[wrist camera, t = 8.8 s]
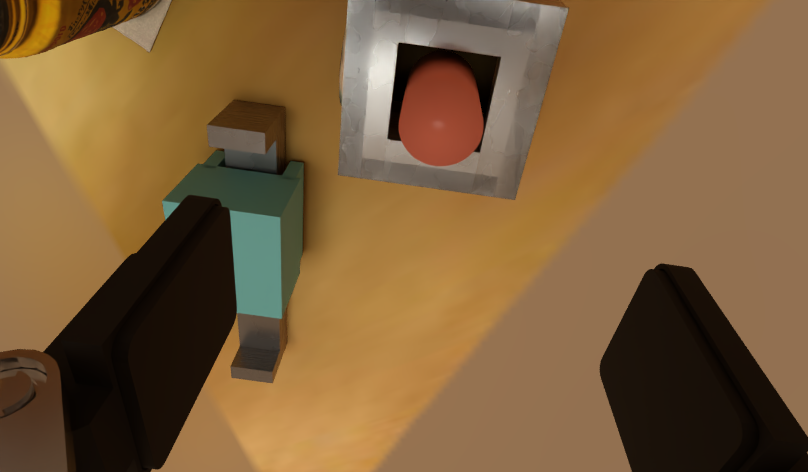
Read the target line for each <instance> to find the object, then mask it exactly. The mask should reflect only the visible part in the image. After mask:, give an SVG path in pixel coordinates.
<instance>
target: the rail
mask: <svg viewBox="0 0 808 472" xmlns="http://www.w3.org/2000/svg"><path fill="white" fill-rule="evenodd" d="M207 131H208V142H209V147H216V148H223V149H224V152H225V165H226V168H232V169H239V170H247V171H254V172H261V173H268V174H275V175H283V173H284V171H285V170H286V144H285V107H280V106H273V105H266V104H259V103H252V102H245V101H238V100H233V101H232V102H231V103H230V104H229V105H228V106H227V107H226V108H225V109H224V110H223V111H221V112H220V113H219V114H218V115H217V116H216V117H215V118H214V119H213V120H212V121H211V122H210V123H208V124H207ZM237 314H238V327H239V339H240V347H239V349H238V351H237V354H236V356H235V358H234V360H233V362H232V364H231V376H232V378H238V379H245V380H252V381H260V382H267V383H273V381H274V378H275V375H276V373H277V370H278V367H279V364H280V361H281V359H282V356H283V353H284V350H285V348H286V345H287V307H286V310H285V312H284V315H283V317H282V319H278V318H271V317H264V316H257V315H249V314H242V313H237Z"/></svg>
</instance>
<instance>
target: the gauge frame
mask: <svg viewBox="0 0 808 472" xmlns="http://www.w3.org/2000/svg"><path fill="white" fill-rule="evenodd" d="M568 10H569V8H568V7H567V6H565V5H564V4H563V3H562V2H560V1H559V0H348V8H347V25H346V29H345V34H344V39H343V46H342V53H341V63H340V79H339V94H340V103H341V106H342V114H341V132H340V149H339V167H338V175H342V176H350V177H357V178H364V179H371V180H378V181H385V182H392V183H399V184H406V185H413V186H420V187H427V188H434V189H441V190H448V191H455V192H462V193H470V194H477V195H484V196H491V197H498V198H505V199H512V200H515V198H516V194H517V190H518V187H519V183H520V180H521V176H522V173H523V169H524V166H525V162H526V159H527V155H528V151H529V148H530V144H531V141H532V137H533V134H534V130H535V127H536V123H537V120H538V116H539V112H540V109H541V105H542V102H543V98H544V95H545V91H546V88H547V84H548V81H549V77H550V73H551V70H552V66H553V63H554V59H555V56H556V52H557V49H558V45H559V42H560V38H561V34H562V31H563V27H564V24H565V20H566V17H567V13H568ZM399 42H401V43H408V44H415V45H422V46H429V47H436V48H443V49H450V50H457V51H463V52H470V53H477V54H484V55H491V56H498V59H497V63H496V68H495V72H494V77H493V82H492V86H491V91H490V95H489V100H488V104H487V109H486V113H485V114H482V116H483V123H484V126H483V134H482V138H481V140H480V143H479V145H478V146H477V148H476V149H475V150H474V152H473V153H472V154H471V155H470V156H468V157H467V158H466V159H464V160H462V161H461V162H459V163H456V164H453V165H449V166H432V165H428V164H425V163H423V162H420V161H419V160H417V159H415V158H414V157H413V156H412V155H411V154H410V153H409V152H408V151H407V150H406V148H405V147H404V145H403V143H402V141H401V138H400V134H399V119H400V114H401V109H402V104H403V102H399V101H392V100H393V91H394V82H395V73H396V64H397V55H398V46H399Z"/></svg>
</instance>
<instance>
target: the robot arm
mask: <svg viewBox="0 0 808 472" xmlns="http://www.w3.org/2000/svg"><path fill="white" fill-rule="evenodd" d="M236 314H237V300H236V286H235V272H234V259H233V245H232V231H231V217H230V210H229V208H228V207H222V204H221V202H220V200H219V199H217V198H210V197H203V196H196V195H188V196H186V197H185V198H184V199H183V201H182V202H181V203H180V204H179V205H178V206H177V207H176V209H175V210H174V211H173V212H172V213H171V214H170V215H169V217H168V218H167V219H166V220H165V221H164V222H163V223H162V225H161V226H160V227H159V228H158V229H157V230H156V231H155V233H154V234H153V235H152V236H151V237H150V238H149V240H148V241H147V242H146V243H145V244H144V245H143V246H142V248H141V249H140V250H139V251H138V252H137V253H134V254H131V255H130V256H129V257H128V258H127V259H126V260H125V261H124V262H123V263H122V264H121V265H120V266H119V268H118V269H117V270H116V271H115V272H114V273H113V274H112V275H111V277H110V278H109V279H108V280H107V281H106V282H105V283H104V285H102V287H101V288H100V289H99V290H98V291H97V292H96V293H95V294H94V296H93V297H92V298H91V299H90V300H89V301H88V302H87V304H86V305H85V306H84V307H83V308H82V309H81V310H80V311H79V313H78V314H77V315H76V316H75V317H74V318H73V319H72V321H70V323H69V324H68V325H67V326H66V327H65V328H64V329H63V330H62V332H61V333H60V334H59V335H58V336H57V337H56V338H55V339H54V341H53V342H52V343H51V344H50V345H49V346H48V348H46V350H45V351H44V352H40V351H36V350H25V349H24V350H23V349H17V350H10V351H4V352H0V472H151V470H152V469H160V468H161V467H162V466H163V465H164V463H165V461H166V459H167V457H168V455H169V453H170V451H171V449H172V447H173V445H174V443H175V441H176V439H177V437H178V435H179V433H180V431H181V429H182V427H183V425H184V423H185V421H186V419H187V417H188V415H189V413H190V411H191V409H192V407H193V405H194V403H195V401H196V399H197V397H198V395H199V393H200V391H201V389H202V387H203V385H204V383H205V381H206V379H207V377H208V375H209V373H210V371H211V369H212V367H213V365H214V363H215V361H216V359H217V357H218V355H219V353H220V351H221V349H222V347H223V345H224V343H225V341H226V339H227V337H228V335H229V333H230V331H231V329H232V327H233V324H234V322H235V318H236ZM600 376H601V379H602V382H603V385H604V388H605V392H606V395H607V397H608V400H609V404H610V406H611V409H612V413H613V416H614V418H615V422H616V425H617V428H618V431H619V434H620V437H621V440H622V443H623V446H624V449H625V452H626V454H627V458H628V461H629V464H630V467H631V470H632V472H808V454H807V451H808V437H807V435H806V434H805V432H804V431H803V430H802V428H801V426H800V425H799V423H798V422H797V421H796V419H795V418H794V416H793V415H792V413H791V412H790V410H789V409H788V407H787V406H786V404H785V403H784V402H783V400H782V399H781V397H780V396H779V394H778V393H777V391H776V390H775V389H774V387H773V385H772V384H771V383H770V381H769V379H768V378H767V377H766V375H765V374H764V372H763V371H762V369H761V368H760V367H759V365H758V364H757V362H756V360H755V359H754V358H753V356H752V355H751V353H750V352H749V350H748V349H747V347H746V346H745V344H744V343H743V341H742V340H741V338H740V337H739V336H738V334H737V333H736V331H735V330H734V328H733V327H732V325H731V324H730V322H729V321H728V319H727V318H726V317H725V315H724V314H723V312H722V311H721V309H720V308H719V306H718V305H717V303H716V302H715V300H714V299H713V297H712V296H711V294H710V293H709V292H708V290H707V289H706V287H705V286H704V284H703V283H702V281H701V280H700V278H699V277H698V275H697V274H696V273H695V271H694V270H693V269H692V268H689V267H683V266H675V265H669V264H659V265H657V266H656V267H655V269H650V270H648V271H647V272H646V273H645V274H644V276H643V278H642V281H641V282H640V285H639V286H638V288H637V290H636V292H635V294H634V296H633V298H632V300H631V302H630V304H629V306H628V308H627V310H626V312H625V314H624V316H623V318H622V320H621V322H620V324H619V326H618V328H617V330H616V332H615V334H614V335H613V338H612V340H611V341H610V344H609V346H608V348H607V349H606V351H605V353H604V355H603V357H602V360H601V363H600Z"/></svg>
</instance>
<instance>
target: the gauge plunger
mask: <svg viewBox="0 0 808 472" xmlns="http://www.w3.org/2000/svg"><path fill="white" fill-rule="evenodd" d="M483 126H484V123H483V116H482V110H481V105H480V99H479V94H478V89H477V83H476V78H475V74H474V71H473V69H472V67H471V65H470V64H469V63H468V61H467V60H466V59H465V58H464V57H462V56H461V55H459V54H457V53H455V52H452V51H448V50H437V51H433V52H430V53H427V54H425V55H424V56H422V57H421V58H420V59H419V60H417V62H416V63H415V64H414V65H413V67H412V69H411V71H410V73H409V76H408V80H407V85H406V90H405V95H404V100H403V104H402V109H401V114H400V119H399V134H400V138H401V141H402V143H403V145H404V147H405V148H406V150H407V151H408V152H409V153H410V154H411V155H412V156H413V157H414V158H415V159H417V160H419V161H420V162H423V163H425V164H428V165H432V166H449V165H453V164H456V163H459V162H461V161H462V160H464V159H466V158H467V157H468V156H470V155H471V154H472V153H473V152H474V150H475V149H476V148H477V146H478V145H479V143H480V140H481V138H482V134H483Z"/></svg>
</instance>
